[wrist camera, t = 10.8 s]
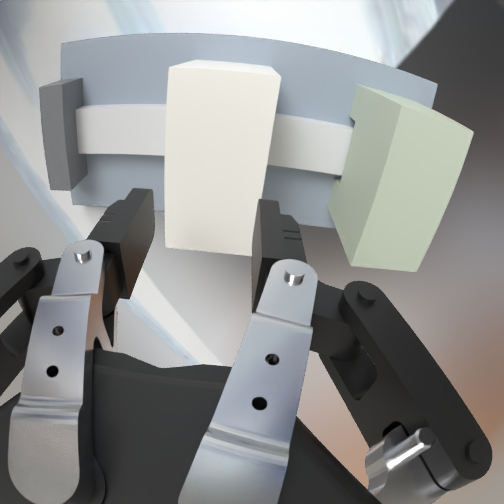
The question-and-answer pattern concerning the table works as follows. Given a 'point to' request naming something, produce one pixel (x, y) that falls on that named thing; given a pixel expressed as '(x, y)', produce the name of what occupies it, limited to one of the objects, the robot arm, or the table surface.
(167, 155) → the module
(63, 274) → the robot arm
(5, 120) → the table surface
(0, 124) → the table surface
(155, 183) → the mounting plate
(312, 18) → the table surface
